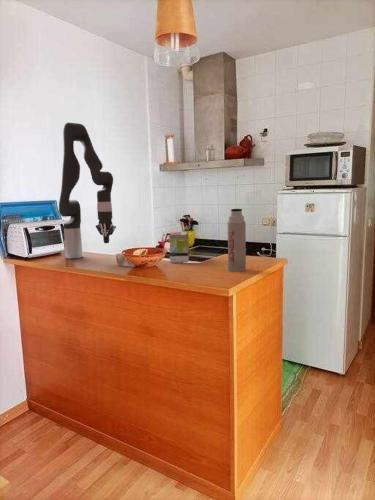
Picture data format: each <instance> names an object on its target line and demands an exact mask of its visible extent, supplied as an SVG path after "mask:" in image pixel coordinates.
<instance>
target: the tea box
mask: <svg viewBox="0 0 375 500" xmlns="http://www.w3.org/2000/svg"><path fill="white" fill-rule="evenodd" d="M189 236H190V233H189V231H172V232H170V233H169V236H168V237H169V263H175V264H176V263H177V264H178V263H189V260H190V238H189Z"/></svg>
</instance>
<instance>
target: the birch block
mask: <svg viewBox="0 0 375 500" xmlns="http://www.w3.org/2000/svg"><path fill="white" fill-rule="evenodd" d="M122 252H123V251H121V252H119V253H116V254H115V257H116V258H115V259H116V261H115V262H116V266H120V265H123V267H124V266H125V267H135V266H134V265H133V264H132V263H130V262H129V261H128V260H127V259H125V257H124V256H123V255H122Z"/></svg>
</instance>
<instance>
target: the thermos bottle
mask: <svg viewBox="0 0 375 500" xmlns="http://www.w3.org/2000/svg"><path fill="white" fill-rule="evenodd" d="M246 228H247V227H246V221H245V217H244V215H243V208H231V210H230V215H229V216H228V221H227V247H228V248H227V266H228V267H227V268H228V271H229V272H233V273H235V272H236V273H239V272H245V271H246V270H247V267H246V266H247V265H246V263H247V259H246V257H247V255H246V254H247V253H246V250H247V249H246V246H247V245H246V244H247V243H246V242H247V241H246V237H247V236H246V233H247V232H246V231H247V230H246Z"/></svg>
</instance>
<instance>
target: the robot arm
mask: <svg viewBox="0 0 375 500" xmlns="http://www.w3.org/2000/svg"><path fill="white" fill-rule="evenodd" d="M62 130H63V131H62V132H63V133H62V137H63V138H62V139H63V141H62V142H63V157H62V158H63V161H62V171H61V172H62V173H61V177H62V178H61V186H60V188H61V189H60V194H59V195H60V196H59V201H58V212H59V215H60V216H61V217H70V219H68V220H67V221H66V222H64V223H63V224H62V225H63V237H64V241H63V248H64V257H65V259H80V258H82V257H83V244H82V233H81V232H82V230H81V223H82V216H81V215H82V214H81V213H82V212H81V204H80V202H79V201H78V200H77V199H70V197H71V193H72V191H73V190H74V189H75V187H76V185H77V184H78V181H79V180H80V175H81V174H80V173H81V165H80V161H79V160H78V158H77V156H76V153H75V149H74V146H75V145H74V144H75V142H80V143H81V145H82V146H83V159H84V161H85V163H86V165H87V167H88V168H89V172H90V176H91V180H92V182H93V183H94V185H96V186H102V188H101V189H100V190H98V191H97V192H96V199H97V202H96V203H97V204H96V207H97V208H96V209H97V220H98V223H97V224H95V228H96V230H97V232H98V234H100V235H101V236H102V237H103V243H104V244H109V243H110V236H113V234H114V232H115V230H116V229H117V226H116V225H114V224H113V221H112V220H113V205H112V195H111V194H112V188H113V184H114V177H113V174H112V173H111V172H110V171H102V169H103V162H102V161H101V159H100V158H99V156H98V154H97V152H96V150H95V148H94V145H93V143H92V141H91V137H90V135H89V132H88V130H87V128H86V126H85V125H84V124H81V123H79V122H77V123H76V122H66V123H65V124H64V127H63V129H62Z"/></svg>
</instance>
